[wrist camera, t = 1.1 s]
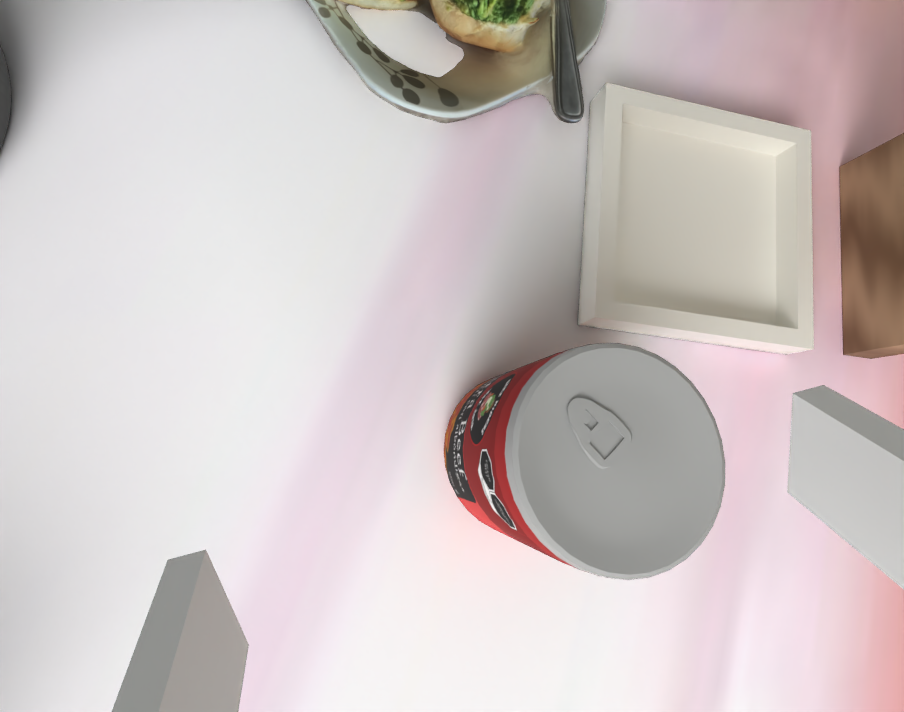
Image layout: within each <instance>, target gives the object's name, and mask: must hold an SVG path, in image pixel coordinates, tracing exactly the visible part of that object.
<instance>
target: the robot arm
mask: <svg viewBox="0 0 904 712" xmlns="http://www.w3.org/2000/svg"><path fill="white" fill-rule="evenodd" d="M10 109H11V85H10V77H9V72H8V67H7V63H6V60H5V56H4V54H3V51H2V48H1V46H0V149H1V146H2V144H3V141H4V138H5V135H6V131H7V128H8V123H9V117H10ZM787 492H788V493H789V494H790V495H791V496H793V497H794V498H795V499H796V500H797V501H799V502H800V503H801V504H802V505H803V506H805V507H806V508H807V509H808V510H809V511H811V512H812V513H813V514H814V515H815V516H817V517H818V518H819V519H820V520H821V521H822V522H824V523H825V524H826V525H827V526H828V527H830V528H831V529H832V530H833V531H834V532H836V533H837V534H838V535H839V536H840V537H842V538H843V539H844V540H845V541H846V542H848V543H849V544H850V545H851V546H852V547H854V548H855V549H856V550H857V551H858V552H860V553H861V554H862V555H863V556H864V557H866V558H867V559H868V560H869V561H870V562H871V563H873V564H874V565H875V566H876V567H877V568H879V569H880V570H881V571H882V572H883V573H885V574H886V575H887V576H888V577H889V578H891V579H892V580H893V581H894V582H895V583H897V584H898V585H899V586H900V587H901V588H903V589H904V429H902V428H900V427H898V426H896V425H895V424H893V423H891V422H889V421H887V420H886V419H884V418H882V417H880V416H878V415H877V414H875V413H873V412H871V411H869V410H868V409H866V408H864V407H862V406H860V405H859V404H857V403H855V402H853V401H851V400H850V399H848V398H846V397H844V396H843V395H841V394H839V393H837V392H835V391H834V390H832V389H830V388H828V387H826V386H825V385H822V386H818V387H815V388H811V389H807V390H803V391H800V392H796V393H793V399H792V417H791V436H790V454H789V472H788V490H787ZM248 646H249V644H248V642H247V640H246V638H245V636H244V633H243V631H242V629H241V627H240V624H239V622H238V620H237V618H236V616H235V613H234V611H233V609H232V607H231V604H230V602H229V600H228V598H227V596H226V593H225V591H224V589H223V587H222V584H221V582H220V580H219V578H218V576H217V573H216V571H215V569H214V567H213V565H212V562H211V560H210V558H209V556H208V553H207V551H206V550H203V551H199V552H195V553H192V554H188V555H184V556H180V557H177V558H173V559H169V560H168V561H167V564H166V566H165V569H164V572H163V574H162V577H161V580H160V582H159V585H158V588H157V591H156V593H155V596H154V599H153V601H152V604H151V607H150V610H149V612H148V615H147V618H146V620H145V623H144V626H143V629H142V631H141V634H140V637H139V639H138V642H137V645H136V647H135V650H134V653H133V656H132V658H131V661H130V664H129V666H128V669H127V672H126V675H125V677H124V680H123V683H122V685H121V688H120V691H119V693H118V696H117V699H116V702H115V704H114V707H113V710H112V712H238V709H239V703H240V697H241V690H242V684H243V678H244V671H245V665H246V659H247V652H248Z"/></svg>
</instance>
